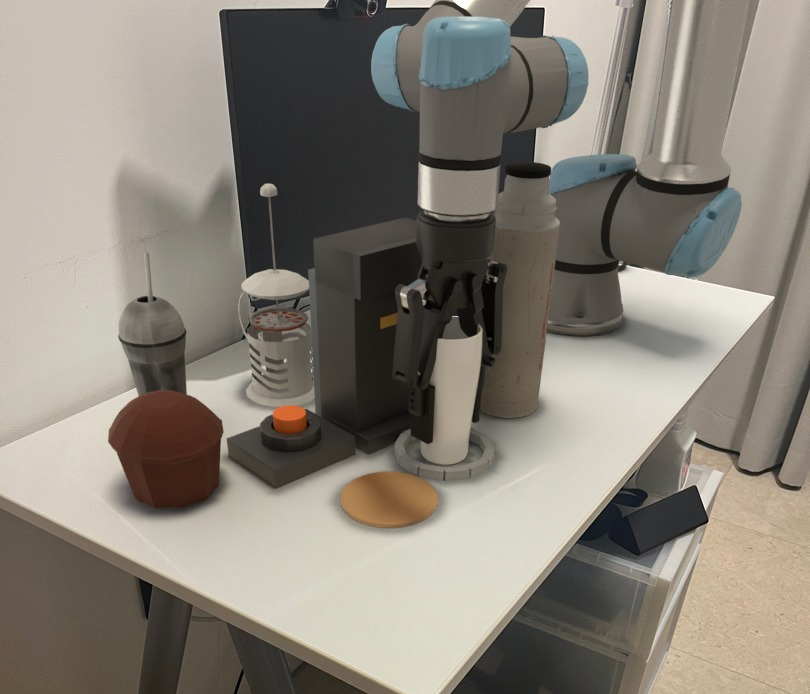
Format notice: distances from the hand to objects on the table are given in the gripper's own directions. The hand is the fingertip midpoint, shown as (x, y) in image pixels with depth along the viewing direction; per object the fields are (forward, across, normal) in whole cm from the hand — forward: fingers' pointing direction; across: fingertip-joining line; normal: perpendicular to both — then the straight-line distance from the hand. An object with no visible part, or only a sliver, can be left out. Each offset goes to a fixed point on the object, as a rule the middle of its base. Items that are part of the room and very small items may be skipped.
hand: (445, 427), depth 92 cm
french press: (+4, +4, -26) cm, 27 cm away
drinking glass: (+4, 0, 0) cm, 4 cm away
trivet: (+3, +11, +3) cm, 12 cm away
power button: (0, +13, -11) cm, 17 cm away
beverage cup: (+4, +20, -26) cm, 33 cm away
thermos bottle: (+4, -15, -4) cm, 16 cm away
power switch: (+3, +13, -11) cm, 17 cm away
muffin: (+4, +26, -14) cm, 30 cm away
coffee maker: (+3, 0, -5) cm, 7 cm away
